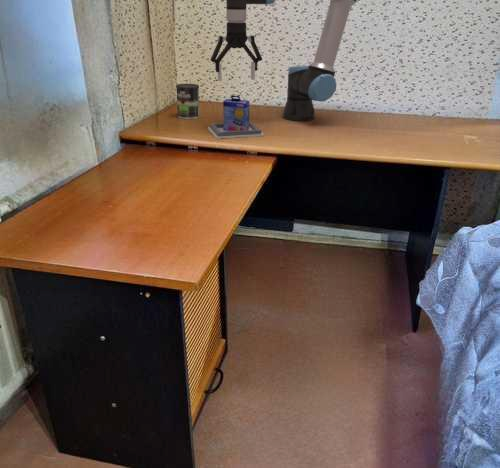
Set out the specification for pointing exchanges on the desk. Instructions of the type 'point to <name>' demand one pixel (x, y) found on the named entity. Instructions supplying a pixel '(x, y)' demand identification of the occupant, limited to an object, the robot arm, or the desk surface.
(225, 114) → the ink cartridge box
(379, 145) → the desk surface
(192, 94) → the coffee can
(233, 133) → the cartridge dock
